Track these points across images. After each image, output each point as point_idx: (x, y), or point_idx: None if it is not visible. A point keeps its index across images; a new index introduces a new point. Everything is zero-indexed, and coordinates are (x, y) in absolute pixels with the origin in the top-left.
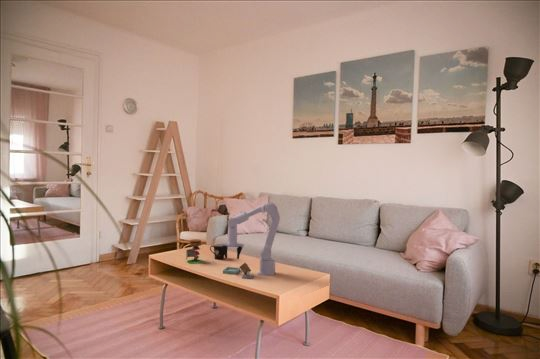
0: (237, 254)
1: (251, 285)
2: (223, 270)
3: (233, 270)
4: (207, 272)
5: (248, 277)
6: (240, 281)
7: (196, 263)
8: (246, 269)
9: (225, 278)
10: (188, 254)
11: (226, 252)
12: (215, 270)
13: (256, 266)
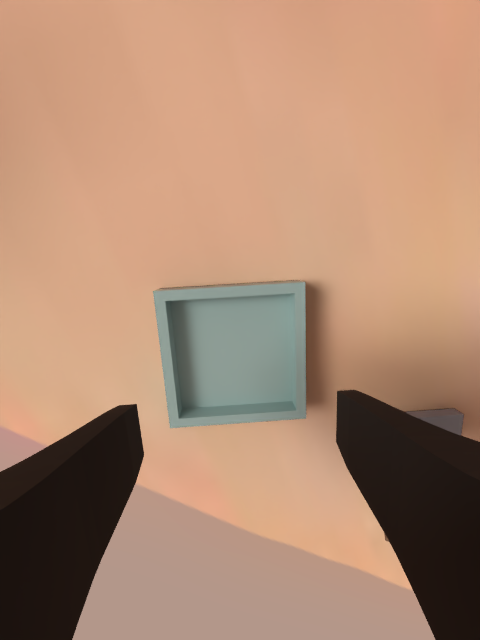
0: (393, 536)
1: None
2: (175, 426)
3: (245, 331)
4: (36, 431)
5: None
6: (375, 548)
7: None
8: None
9: (250, 523)
10: None
11: (80, 522)
12: (69, 350)
13: (438, 30)
